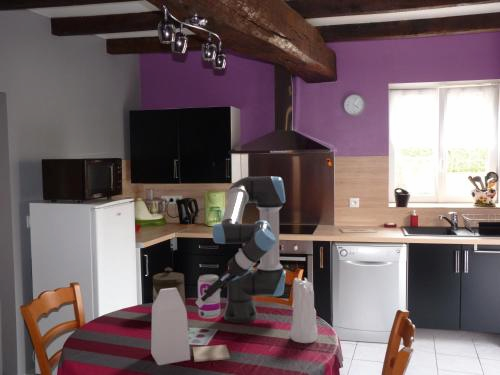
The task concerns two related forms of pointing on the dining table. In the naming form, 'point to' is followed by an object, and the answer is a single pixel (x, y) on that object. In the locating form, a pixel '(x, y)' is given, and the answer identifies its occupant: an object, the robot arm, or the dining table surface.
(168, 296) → the milk
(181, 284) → the wooden container
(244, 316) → the robot arm
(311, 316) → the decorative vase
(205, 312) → the supplement can
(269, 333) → the dining table surface
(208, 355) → the beige cloth
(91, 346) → the dining table surface
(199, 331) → the dining table surface
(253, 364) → the dining table surface
